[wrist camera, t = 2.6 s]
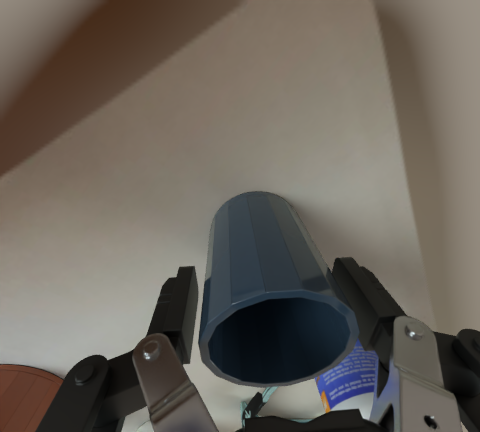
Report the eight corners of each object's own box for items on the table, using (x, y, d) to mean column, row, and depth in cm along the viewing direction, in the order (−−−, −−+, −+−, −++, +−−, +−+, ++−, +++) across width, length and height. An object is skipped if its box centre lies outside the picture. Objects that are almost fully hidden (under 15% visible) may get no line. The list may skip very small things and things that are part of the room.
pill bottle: (288, 326, 21) (332, 488, 12) (340, 297, 19) (430, 459, 11) (318, 349, 23) (373, 501, 15) (367, 325, 22) (460, 479, 13)
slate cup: (206, 193, 14) (189, 297, 7) (302, 189, 14) (378, 284, 7) (214, 267, 17) (207, 392, 10) (294, 262, 17) (341, 381, 10)
